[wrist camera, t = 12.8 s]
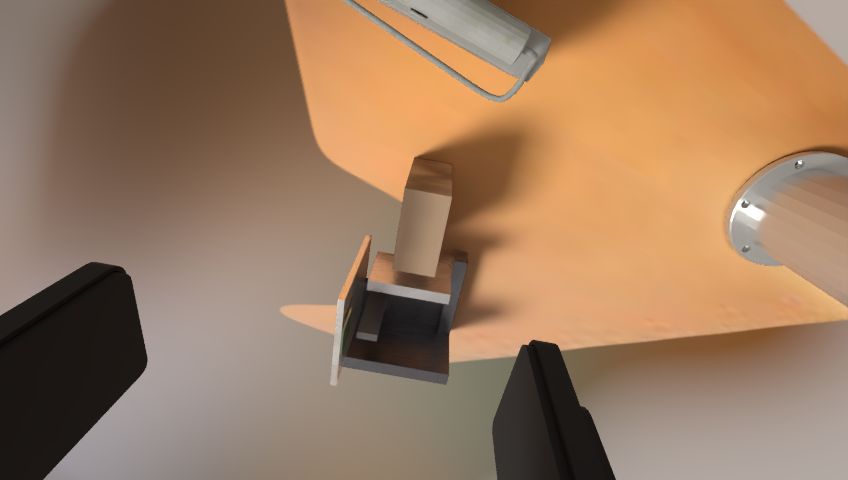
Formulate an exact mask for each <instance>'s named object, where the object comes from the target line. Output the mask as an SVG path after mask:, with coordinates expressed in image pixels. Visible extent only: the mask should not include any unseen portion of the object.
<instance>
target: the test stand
mask: <svg viewBox="0 0 848 480" xmlns="http://www.w3.org/2000/svg"><path fill="white" fill-rule="evenodd" d="M370 244H371V235H366V237H365V239H364V241H363V244H362V247H361V248H360V250H359V253H358V255H357V257H356V260H355V262H354V264H353V266H352V268H351V271H350V273H349V275H348V278H347V280H346V282H345V284H344V287H343V289H342V291H341V293H340V296H339V298H338V303H337V314H336V326H335V338H334V348H333V360H332V371H331V382H330V384H331V385H334V386H336V385H337V382H338V379H339V376H340V373H341V370H342V367H347V368H353V369H359V370H365V371H371V372H376V373H382V374H388V375H394V376H399V377H405V378H411V379H416V380H422V381H428V382H434V383H440V384H446V383H447V380H448V376H449V333H450V330H451V326H452V322H453V318H454V314H455V311H456V307H457V303H458V299H459V295H460V292H461V288H462V284H463V280H464V276H465V272H466V269H467V265H468V260H467V253H464V252H459V251H454V255H453V259H452V263H451V296H450V300H449V304H442V303H437V302H431V301H426V300H420V299H415V298H409V297H403V296H398V295H392V294H388V298H387V302H386V306H385V310H384V314H383V318H382V322H381V326H380V330H379V334H378V338H377V342H376V341H371V340H365V339H359V338H356V336H357V330H358V327H359V324H360V321H361V318H362V315H363V312H364V309H365V306H366V302H367V299H368V296H369V293H370V290H367V284H368V278H366V275H367V267H368V259H369V252H370Z"/></svg>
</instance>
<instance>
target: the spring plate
mask: <svg viewBox="0 0 848 480" xmlns="http://www.w3.org/2000/svg"><path fill="white" fill-rule="evenodd" d="M393 260H394V254H388V253H382V252H378V253H377V256H376V259H375V262H374V264H373V268H372V270H371V273H370V276H369V279H368V284H367V290H370V291H375V292H381V293H387V294H392V295H398V296H403V297H409V298H415V299H420V300H426V301H431V302H437V303H442V304H449V300H450V296H451V265H449V264H443V263H438V264H437V269H436V273H435V277H430V276H424V275H419V274H413V273H408V272H402V271H397V270H392V266H393Z"/></svg>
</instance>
